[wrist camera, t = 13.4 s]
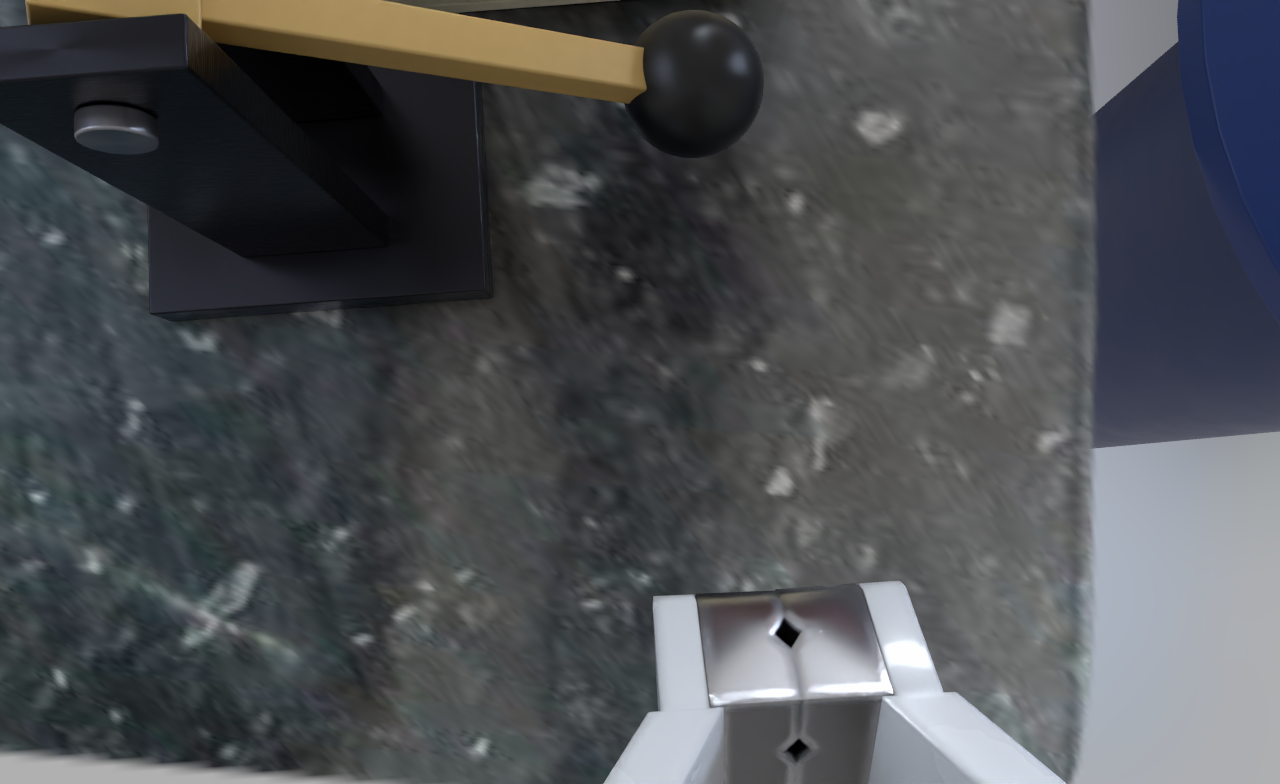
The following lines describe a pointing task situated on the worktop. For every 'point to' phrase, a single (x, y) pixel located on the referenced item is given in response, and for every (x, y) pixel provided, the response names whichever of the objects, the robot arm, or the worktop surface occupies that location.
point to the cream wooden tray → (485, 4)
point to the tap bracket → (263, 165)
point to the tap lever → (498, 55)
